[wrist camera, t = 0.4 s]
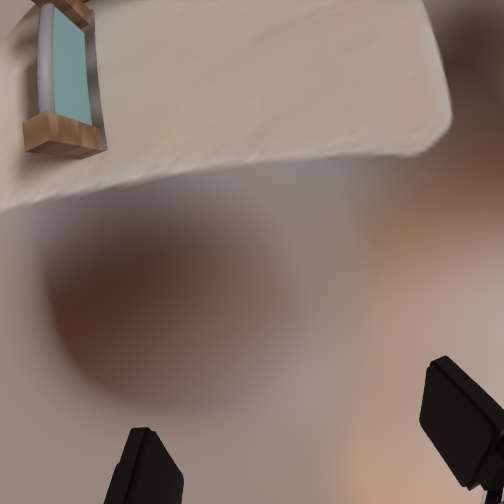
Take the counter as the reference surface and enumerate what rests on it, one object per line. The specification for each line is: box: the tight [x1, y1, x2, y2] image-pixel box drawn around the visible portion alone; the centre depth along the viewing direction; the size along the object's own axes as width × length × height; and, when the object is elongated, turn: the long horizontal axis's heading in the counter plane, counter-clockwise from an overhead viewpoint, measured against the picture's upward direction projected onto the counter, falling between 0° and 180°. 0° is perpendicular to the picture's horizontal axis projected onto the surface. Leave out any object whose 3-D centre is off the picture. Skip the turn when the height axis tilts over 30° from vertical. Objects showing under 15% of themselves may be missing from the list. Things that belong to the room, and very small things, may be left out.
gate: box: [37, 3, 92, 126], centre depth 25 cm, size 16×2×10 cm, turn 12°
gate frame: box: [23, 0, 108, 159], centre depth 25 cm, size 23×4×13 cm, turn 12°
